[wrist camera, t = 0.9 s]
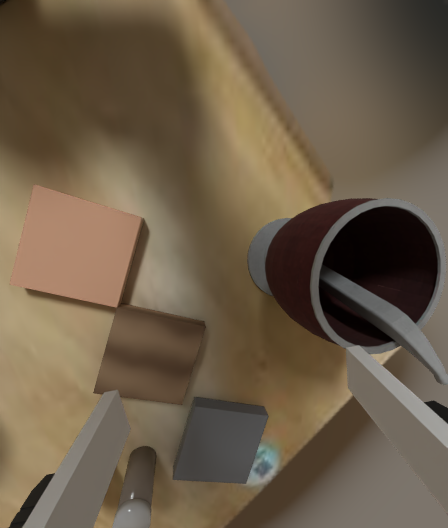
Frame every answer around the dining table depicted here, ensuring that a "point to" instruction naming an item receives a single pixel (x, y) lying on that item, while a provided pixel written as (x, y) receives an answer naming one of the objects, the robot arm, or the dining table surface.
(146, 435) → the dining table surface
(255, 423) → the slate coaster
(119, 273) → the terracotta coaster
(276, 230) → the mate gourd
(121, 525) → the pepper shaker
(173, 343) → the walnut coaster
